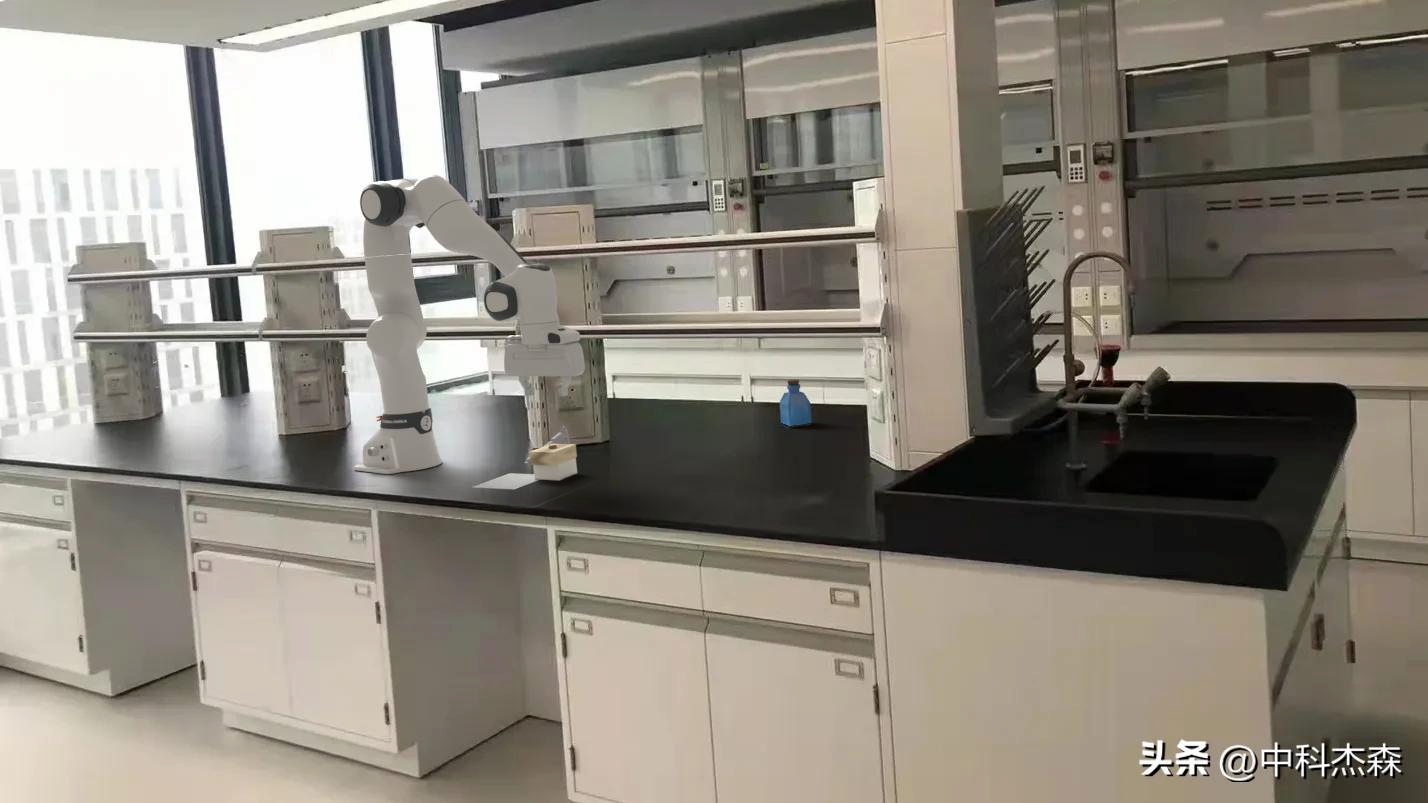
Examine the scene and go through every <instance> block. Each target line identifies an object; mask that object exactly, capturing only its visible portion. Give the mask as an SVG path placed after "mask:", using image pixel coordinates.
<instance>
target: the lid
mask: <svg viewBox="0 0 1428 803" xmlns="http://www.w3.org/2000/svg"><path fill="white" fill-rule="evenodd" d="M529 457H530V462H529V463H530V465H531V466H533V465H552V466H555V465H557V464H560V463H562V462H565V461H568V460H570V459H573V458H576V459H577V457H578V454H577V444H576V443H570V444H550V445H547V446H545V447H543V446H541V447H539V448H536V449H533V450H530V451H529Z"/></svg>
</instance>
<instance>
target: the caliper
mask: <svg viewBox="0 0 1428 803" xmlns="http://www.w3.org/2000/svg"><path fill="white" fill-rule="evenodd" d="M550 444H571V441H570V435H569V431H568V429H567V428H566V426H565V425H561V427H559V432H558V433H557V434H555V435H554V436H552V437H551V438H550V441H548V442H547V443H545V444H544V445H543V446H542V447H545V446H547V445H550ZM529 463H530V456H528V457H526V459H525V462H524V464H529Z"/></svg>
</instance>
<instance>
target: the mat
mask: <svg viewBox="0 0 1428 803" xmlns="http://www.w3.org/2000/svg"><path fill="white" fill-rule="evenodd" d="M537 481H541V480H540V479H534V473H533V474H532V473H513V472H512V473H510V472H509V473H507V474H504V475H501V476H498V477H495V478H494V479H490V480H488V481H485V482H483V483H482V482H481V483H480V484H476V485H474V486H471V489H472V488H473V489H474V488H475V489H477V488H478V489H494V490H517V489H518V488H521V487H524V486H527V485H529V484H532V483H535V482H537Z"/></svg>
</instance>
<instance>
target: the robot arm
mask: <svg viewBox="0 0 1428 803" xmlns="http://www.w3.org/2000/svg"><path fill="white" fill-rule="evenodd" d="M359 205H360V211H361V213H362V216H363V217H364V218H365V219H364V222H363V234H362V235H363V239H362V240H363V243H362V244H363V255H364V263H365V271H366V279H367V288H368V291H369V293H370V295H371V297H372V300H373V302H374V305H375V308H376V313H377V317H376V318H375V319H374V320H373V321H372V322H371V324H370V325H369V327H368V329H367V331H366V336H365V338H366V339H365V340H366V344H367V347H368V348H369V350H370V352H371V356H372V359H373V363H374V366H375V369H376V372H377V375H378V380H379V384H380V391H381V392H380V393H381V399H382V400H381V401H382V407H383V413H382V415H378V416H376V417H375V419H376V420H375V421H376V422H380V426H379V427H380V428H379V429H378V430H377V431H376V432H375V433H374V434H373V435H372V436H371V438H369V439H368V440H367V441H366V443H365V444H363V449H362V462H360V463H358V464H356V465H354V466H353V468H354V471H359V472H366V473H374V474H384V475H391V474H398V473H405V472H412V471H420V470H425V469H429V468H433V467H436V466H439V465H441V464H442V463H443V460H442V458H441V455H440V452H439V449H438V446H437V442H436V438H435V434H434V429H433V422H434V421H433V412H432V408H430V404H429V397H428V396H429V394H428V387H427V386H428V385H427V378H426V376H425V374H424V371H423V368H422V365H421V362H420V358H419V355H418V350H419V348H421V346H422V345H423V344H424V342H425V340H426V338H427V332H428V330H427V329H428V328H427V324H426V322H425V319H424V316H423V311H422V307H421V304H420V299H419V297H418V296H419V295H418V292H417V289H416V284H415V277H414V270H413V261H412V254H411V248H410V242H409V241H410V240H409V239H410V238H409V235H410V232H411V230H412V228H413V227H416V228H418V229H422V228H424V227H426V229H427V231H428V232H429V233H430V235H431V236H432V237H433V238H434V240H435V241H436V242H437V243H438V244H439V245H440V246H441V247H443V248H444V249H445V250H447V251H450V252H453V253H457V254H461V255H462V254H463V255H468V256H471V257H472V256H473V257H477V258H480V259H483V260H486V261H488V262H489V263H491V264H493V265H494V267H496V269H498V270H499V271H500V273H501V274H502V275H503V276H504V277H501V278H500V279H497V280H495V281H492V282H490V283H489V284H488V285H487V287H486V288H485V290H484V293H483V304H484V308H485V311H486V313H487V314H488V315H489V317H490V318H492V319H493V320H495V321H497V322H512V321H519V328H520V335H509V336H508V337H507V338H506V339H505V341H504V345H503V346H504V354H503V355H504V356H503V357H504V359H503V360H504V362H503V363H504V364H503V366H504V368H503V369H504V373H505V374H506V375H507V376H508V377H518V382H519V383H520V385H521V386H522V388H523V392H524V393H523V394H524V396H526V397H527V396H528V397H531V396H534V395H535V387H533V386H531V384H530V382H529V380H530V377H560V382H562V384H561V387H559V388H557V392H558V394H557V395H558V396H559V397H567V396H569V387H570V384H571V382H572V377H578V376H581V375H583V374H584V372H585V369H586V366H585V365H586V363H585V356H584V350H583V347H582V345H581V344H580V343H579V341H580V339H581V334H580V332H579V331H578V330H574V329H572V328H569V327H566V326H564V325H561V324H560V317H559V314H558V310H557V309H558V308H557V306H558V290H557V285H556V283H557V282H556V279H555V275H554V272H553V270H552V267H550V266H549V265H548V264H545V263H542V262H541V263H540V262H528V261H527V260H526V259H525V258H524V257H523V256H522V255H521V253H520V252H518V250H516V248H515V247H514V246H513V245H512V244H511V243H510V242H509V241H508V239H506V238H505V237H504V235H502V234H501V233H500V232H499V231H498V230H496V229H495V228H494V227H492V226H491V225H489V223H487V222H485V220H484V219H482V218H481V217H480V215H478V214H477V213H476V211H474V209H472V207H471V206H470V205H469V204H468V202H467V201H466V199H465V198H464V196H462V195H461V193H459V191H458V190H457V189H456V188H455V187H454V186H453V185H452V184H451V183H450V182H449V181H447V180H446V179H445V178H444V177H442V176H441V175H438V174H429V175H428V174H427V175H426V176H424V177H421V178H420V179H418V178H399V179H391V180H387V181H384V180H379V181H375V182H372V183H369V184H368V185H366V186H365V187H364V189H363V190H362V191H361V194H360V199H359Z"/></svg>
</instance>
